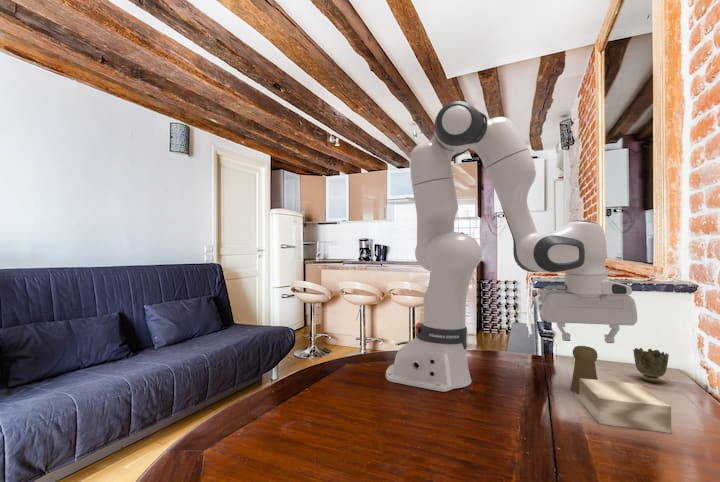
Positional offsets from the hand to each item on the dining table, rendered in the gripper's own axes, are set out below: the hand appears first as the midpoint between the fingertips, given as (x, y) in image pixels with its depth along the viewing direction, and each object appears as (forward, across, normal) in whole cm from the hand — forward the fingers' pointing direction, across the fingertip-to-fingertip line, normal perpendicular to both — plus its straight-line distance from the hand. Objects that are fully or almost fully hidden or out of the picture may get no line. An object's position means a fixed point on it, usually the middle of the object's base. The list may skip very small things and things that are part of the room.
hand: (587, 341), depth 87 cm
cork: (+12, -1, 0) cm, 13 cm away
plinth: (+12, +2, -12) cm, 17 cm away
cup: (+13, +19, +14) cm, 27 cm away
